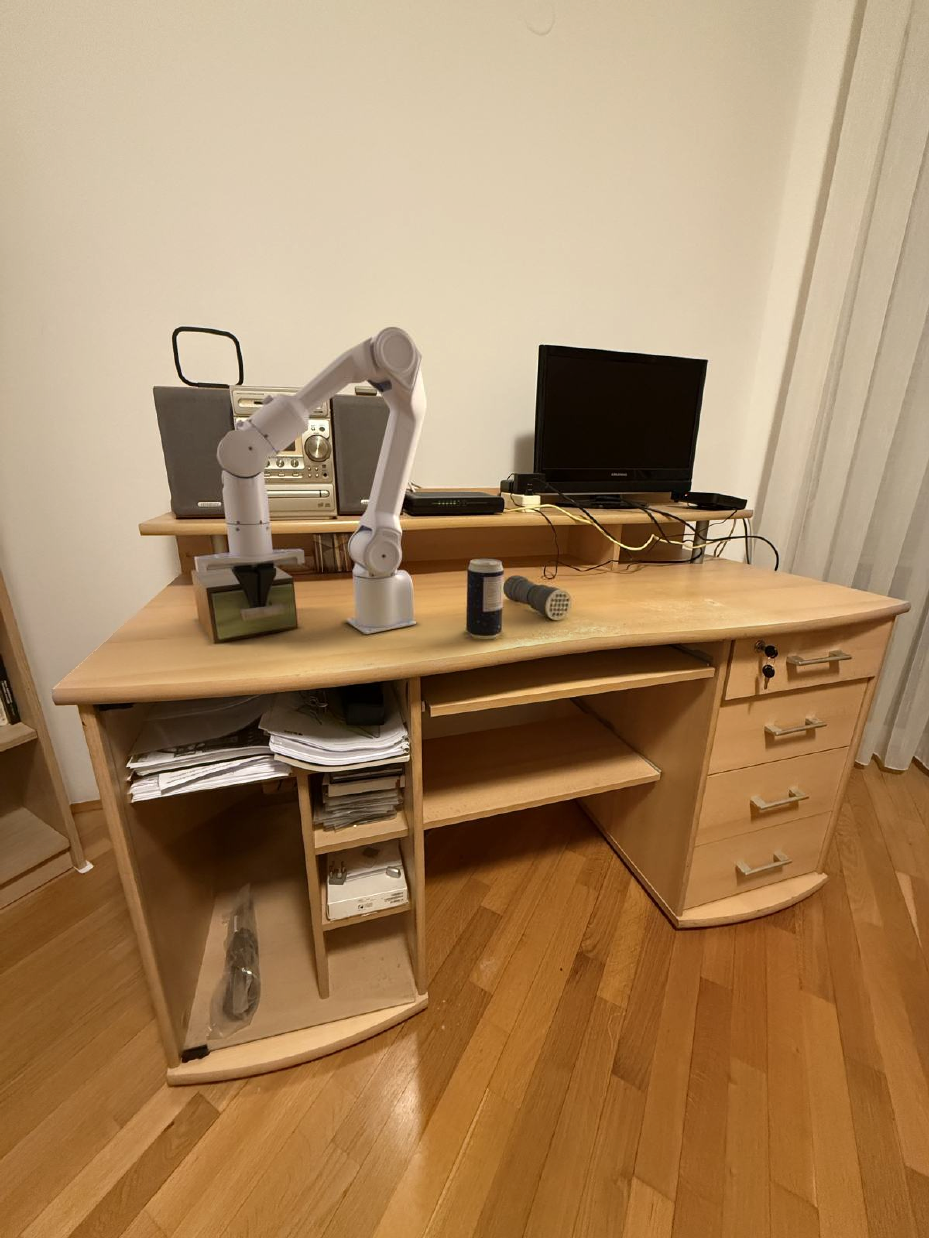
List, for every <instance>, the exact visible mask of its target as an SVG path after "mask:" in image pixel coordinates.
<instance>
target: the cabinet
mask: <svg viewBox="0 0 929 1238" xmlns="http://www.w3.org/2000/svg"><path fill="white" fill-rule="evenodd" d="M274 567H275V568H276V571H277V572H276V576H275V578H274V580H273V583H272V585H275V584H292V585H293V596H294V606H295V617H296V626H292V627H286V628H281V629H275V630H269V631H264V632H258V633H252V634H247V635H241V636H235V637H230V638H224V639H219V638H218V635H217V628H216V622H215V615H214V608H213V601H212V595H211V593H212V592H219V591H227V590H235V589H242V587H241V585H240V583H239V582H238V580H237V578H236V577H235V575H234V574H233V572H232V570H231V569H224V570H213V571H207V572H202V573H199V572H197V570H196V569H192V570H190V572H191V580H192V586H193V592H194V599H195V604H196V605H195V606H196V611H197V616H198V621H199V622H200V624H201V626H202V627H203V629H204V630H205V631H206V633H207V635H208V637H210V639H211V641H212V642H213V644H218V643H223V642H230V641H236V640H240V639H241V640H242V639H246V638H253V637H257V636H264V635H268V634H269V635H270V634H274V633H281V632H284V631H285V632H286V631H292V630H297V629H299V624H298V612H297V601H296V593H295V591H296V590H295V582H294V577H293V576H291V575H290V574H288V573H287V572H286V571H284V570H282V569H280V568H279V567H277V566H276V565H274Z"/></svg>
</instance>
